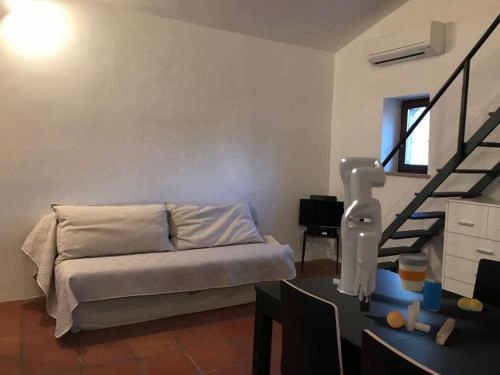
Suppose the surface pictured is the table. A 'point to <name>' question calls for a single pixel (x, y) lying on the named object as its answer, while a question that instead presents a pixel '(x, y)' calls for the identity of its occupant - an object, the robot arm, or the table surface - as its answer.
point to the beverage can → (432, 294)
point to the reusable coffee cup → (412, 271)
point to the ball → (395, 319)
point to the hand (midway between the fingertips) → (364, 311)
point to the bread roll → (470, 304)
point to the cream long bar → (445, 331)
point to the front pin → (419, 326)
